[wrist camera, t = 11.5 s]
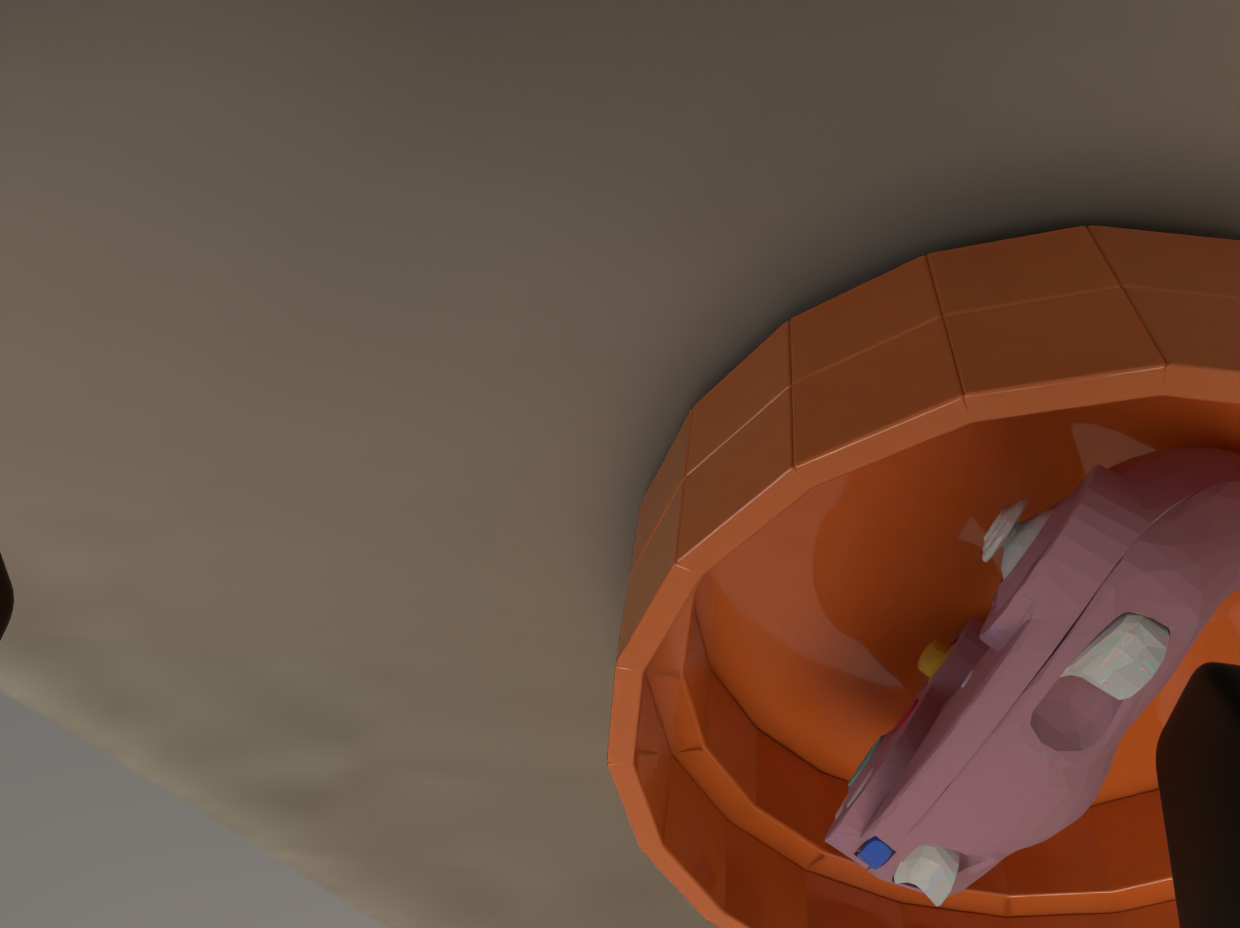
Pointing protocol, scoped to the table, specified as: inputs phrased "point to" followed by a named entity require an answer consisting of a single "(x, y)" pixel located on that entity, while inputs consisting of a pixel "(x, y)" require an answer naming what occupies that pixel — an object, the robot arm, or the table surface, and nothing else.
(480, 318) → the table surface
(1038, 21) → the table surface
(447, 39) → the table surface
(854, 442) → the orange mixing bowl
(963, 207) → the table surface
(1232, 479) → the video game controller
